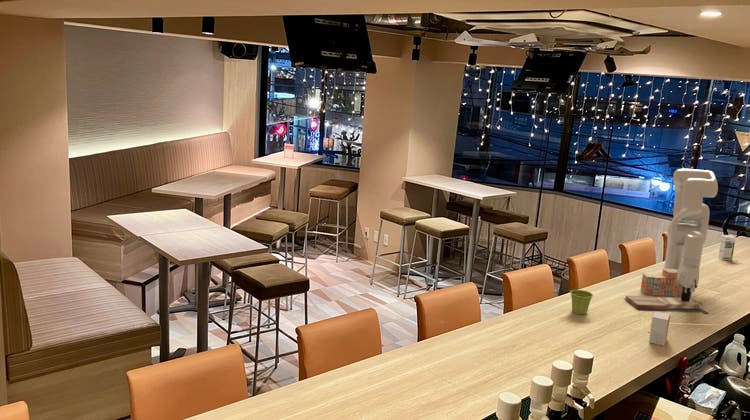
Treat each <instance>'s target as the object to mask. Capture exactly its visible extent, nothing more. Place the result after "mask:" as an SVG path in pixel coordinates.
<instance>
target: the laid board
mask: <svg viewBox="0 0 750 420" xmlns="http://www.w3.org/2000/svg"><path fill="white" fill-rule="evenodd" d="M625 298H626V299H624V300H625V301H626V302H627V301H628V302H627V303H628V304H629V305H631V306H632V305H633V306H632V307H634V308H635V309H636V308H637V309H652V310H666V307H667V305H665V304H664V303H662V302H661V301H659V300H658V299H656V297H655V296H654V295H651V296H648V295H647V296H646V295H625ZM637 309H636V310H637Z"/></svg>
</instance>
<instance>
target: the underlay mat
mask: <svg viewBox="0 0 750 420" xmlns="http://www.w3.org/2000/svg"><path fill="white" fill-rule="evenodd" d="M625 299H626V297H624V298H623V300H625ZM626 302H627V303H629V302H628V301H626ZM631 306H632V307H634V306H633V305H631ZM635 309H636V310H638V311H639V312H655V311H656V312H662V313H666V312H667V313H668V312H669V313H670V312H671V313H697V314H698V313H700V314H703V315H704V314H706V315H709V312H708V311H706V310H705V309H704V308H702V307H701V309H666V310H652V309H637V308H635Z"/></svg>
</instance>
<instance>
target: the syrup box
mask: <svg viewBox="0 0 750 420" xmlns="http://www.w3.org/2000/svg"><path fill="white" fill-rule="evenodd" d="M735 243H736V236H734V235H731V234H730V235H729V234H721V238H720V245H719V249H718V250H719V252H718V259H720V258H721V259H722V261H731V260H732V261H733V256H734V249H735ZM721 259H720V260H721Z"/></svg>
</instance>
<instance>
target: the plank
mask: <svg viewBox="0 0 750 420" xmlns="http://www.w3.org/2000/svg"><path fill="white" fill-rule="evenodd" d="M655 298H656V299H658V300H659V301H661V302H662V303H664V304H665V305H667V307H666V309H701V308H702V304H701V303H699V302H698V301H696V300H694V299H693V298H692V297H691V298H690V301H689V302H686V301H682V300H681V298H680V297H667V296H666V297H661V296H660V297H658V296H657V297H655Z"/></svg>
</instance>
